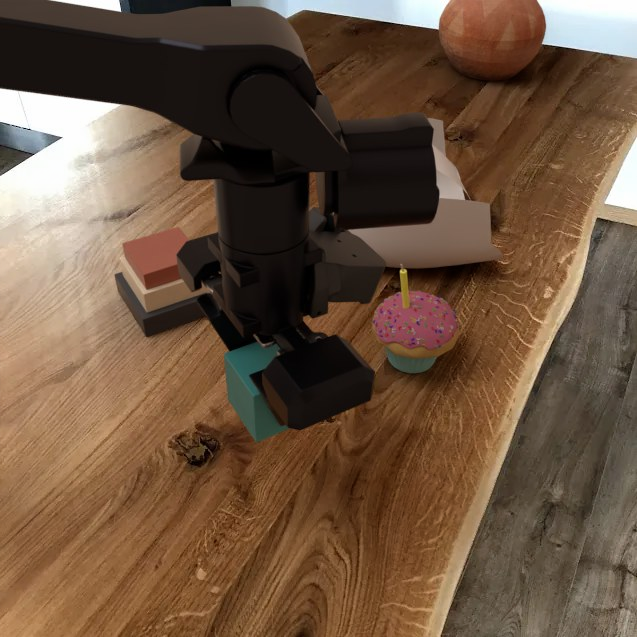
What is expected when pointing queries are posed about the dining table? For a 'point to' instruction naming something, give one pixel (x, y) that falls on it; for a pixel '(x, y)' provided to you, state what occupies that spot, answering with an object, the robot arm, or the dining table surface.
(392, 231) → the bowl
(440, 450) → the dining table surface
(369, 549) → the dining table surface
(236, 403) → the toy cube
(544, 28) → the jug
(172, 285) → the stack
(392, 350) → the cupcake
